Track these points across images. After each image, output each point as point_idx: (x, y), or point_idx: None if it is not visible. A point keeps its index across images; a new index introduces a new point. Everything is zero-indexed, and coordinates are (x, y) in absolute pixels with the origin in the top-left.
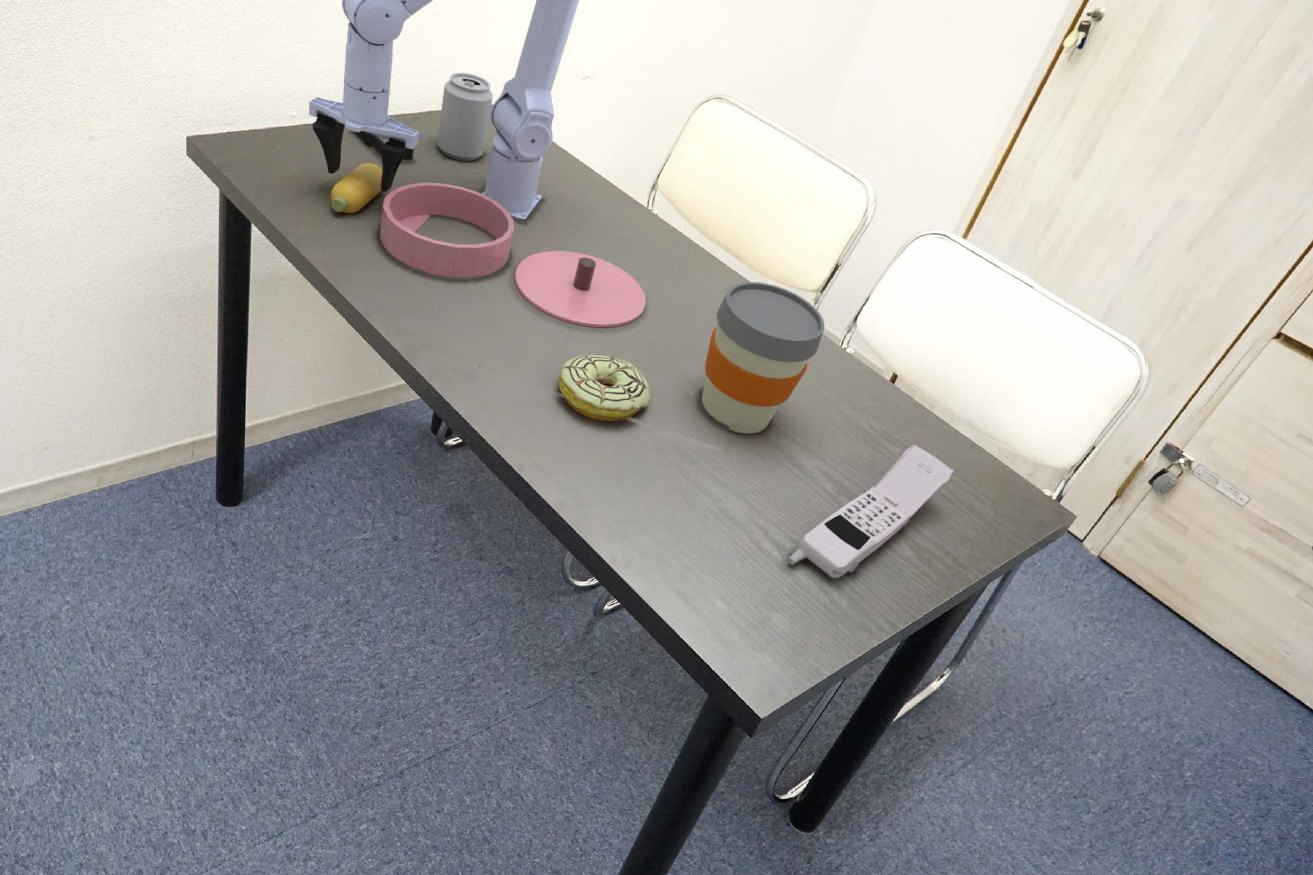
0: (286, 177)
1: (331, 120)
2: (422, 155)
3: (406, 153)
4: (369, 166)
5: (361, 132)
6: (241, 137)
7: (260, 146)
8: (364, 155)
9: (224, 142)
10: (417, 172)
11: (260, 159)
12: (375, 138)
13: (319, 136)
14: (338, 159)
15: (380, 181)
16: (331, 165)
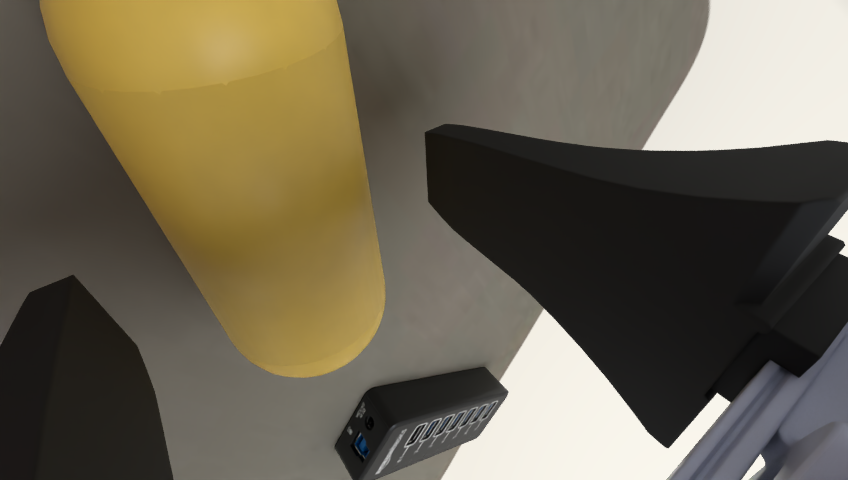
0: (527, 61)
1: (817, 339)
2: (340, 474)
3: (357, 457)
4: (336, 337)
5: (477, 381)
6: (640, 136)
7: (607, 144)
8: (428, 350)
9: (666, 79)
10: (285, 451)
11: (600, 87)
12: (446, 406)
13: (724, 159)
14: (469, 221)
15: (228, 329)
16: (468, 142)
